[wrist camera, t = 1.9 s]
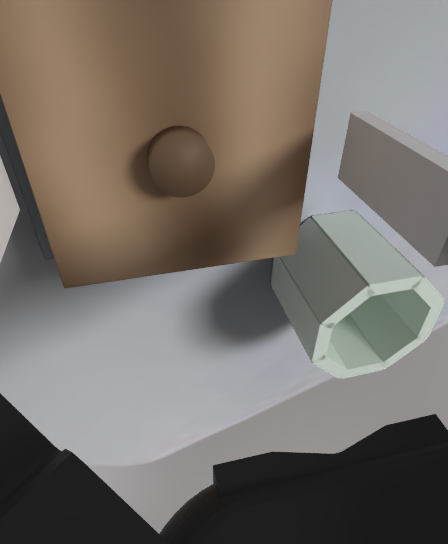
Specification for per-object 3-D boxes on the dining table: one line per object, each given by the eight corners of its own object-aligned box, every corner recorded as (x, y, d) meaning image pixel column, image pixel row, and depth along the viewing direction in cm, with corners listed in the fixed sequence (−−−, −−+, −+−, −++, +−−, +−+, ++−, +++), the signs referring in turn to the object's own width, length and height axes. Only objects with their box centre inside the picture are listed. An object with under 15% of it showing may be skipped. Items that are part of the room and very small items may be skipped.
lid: (70, 240, 20) (62, 303, 16) (-7, -25, 14) (-49, -22, 10) (269, 215, 22) (303, 265, 19) (289, -25, 16) (350, -22, 12)
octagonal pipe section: (268, 309, 28) (306, 386, 23) (277, 220, 24) (327, 291, 18) (360, 293, 30) (415, 362, 24) (386, 206, 25) (461, 269, 20)
